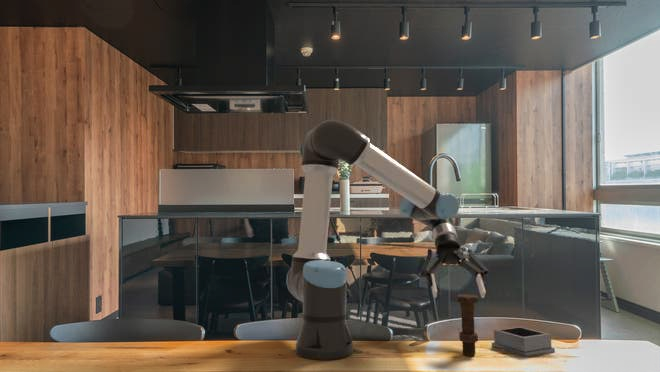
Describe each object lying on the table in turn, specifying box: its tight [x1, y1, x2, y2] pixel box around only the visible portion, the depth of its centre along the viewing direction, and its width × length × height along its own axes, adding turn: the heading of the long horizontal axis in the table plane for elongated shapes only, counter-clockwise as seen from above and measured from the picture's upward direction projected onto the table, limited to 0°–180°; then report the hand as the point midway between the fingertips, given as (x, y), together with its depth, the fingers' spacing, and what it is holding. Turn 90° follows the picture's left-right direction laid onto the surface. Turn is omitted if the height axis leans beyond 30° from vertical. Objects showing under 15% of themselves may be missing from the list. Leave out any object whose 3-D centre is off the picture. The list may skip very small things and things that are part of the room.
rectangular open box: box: [491, 326, 556, 358], centre depth 113 cm, size 11×11×4 cm
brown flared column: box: [456, 293, 479, 357], centre depth 108 cm, size 6×5×15 cm
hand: (459, 295), depth 118 cm, fingers open, 13 cm apart
